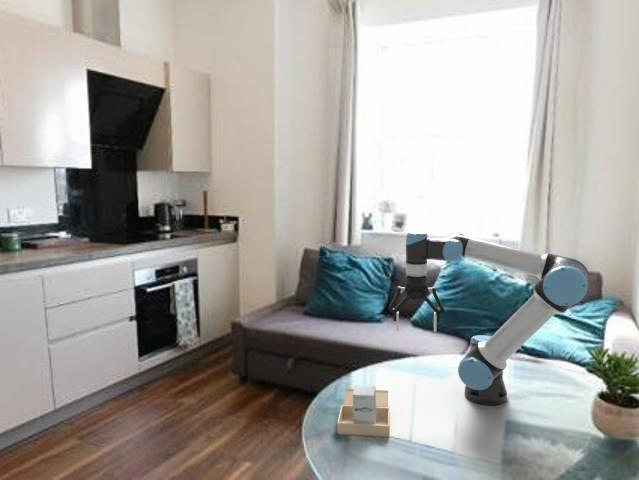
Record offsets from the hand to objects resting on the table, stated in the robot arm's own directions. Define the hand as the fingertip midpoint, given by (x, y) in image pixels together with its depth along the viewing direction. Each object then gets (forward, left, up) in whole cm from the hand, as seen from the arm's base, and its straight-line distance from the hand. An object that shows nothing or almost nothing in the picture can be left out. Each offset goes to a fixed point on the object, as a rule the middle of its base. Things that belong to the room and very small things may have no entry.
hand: (416, 330), depth 177 cm
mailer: (+18, +22, -27) cm, 39 cm away
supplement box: (+18, +22, -26) cm, 39 cm away
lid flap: (+18, +12, -21) cm, 30 cm away
